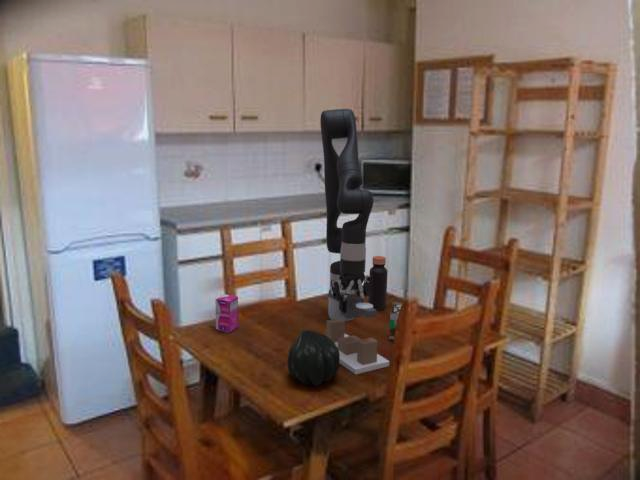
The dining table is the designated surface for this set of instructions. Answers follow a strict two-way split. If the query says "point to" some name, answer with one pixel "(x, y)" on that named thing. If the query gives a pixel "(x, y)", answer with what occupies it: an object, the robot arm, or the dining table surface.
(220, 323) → the supplement box
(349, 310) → the grey white knobbed bar
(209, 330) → the dining table surface
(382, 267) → the bottle
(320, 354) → the squash
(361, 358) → the display stand
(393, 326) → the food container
